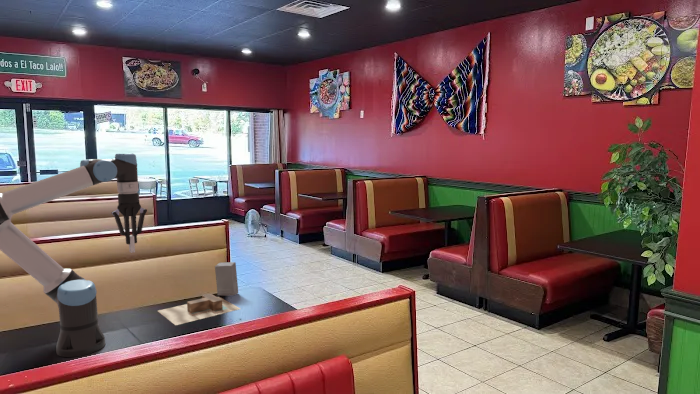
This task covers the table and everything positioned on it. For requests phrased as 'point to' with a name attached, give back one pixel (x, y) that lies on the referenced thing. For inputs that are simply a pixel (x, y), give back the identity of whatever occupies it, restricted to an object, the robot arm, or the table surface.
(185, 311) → the board
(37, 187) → the robot arm
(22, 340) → the table surface
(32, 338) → the table surface
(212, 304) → the t block
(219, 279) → the skincare box
